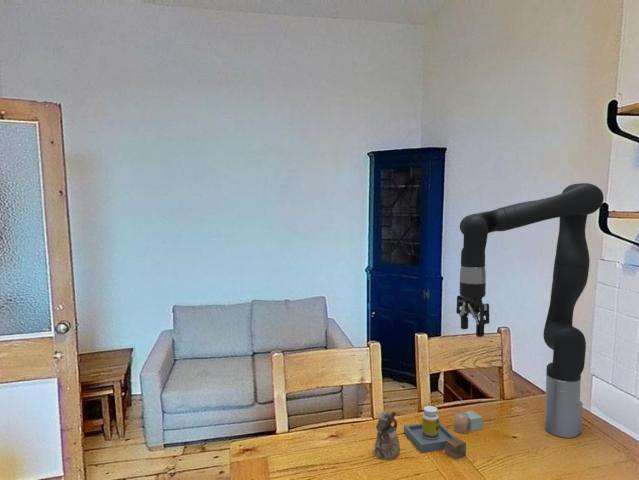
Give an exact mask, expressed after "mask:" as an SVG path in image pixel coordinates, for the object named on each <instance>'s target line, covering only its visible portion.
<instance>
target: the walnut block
mask: <svg viewBox="0 0 639 480" xmlns="http://www.w3.org/2000/svg"><path fill="white" fill-rule="evenodd" d="M444 454H445V455H446V456H449V457H450V458H451V459H453V460H454V461H457V460H459V459H462V458H465V457H466V456H467V455H466V454H467V442H466V441H464V440H463V439H461V438H459V437H457V436H455V435H454V437H452V438H449V439H446V440H445V449H444Z"/></svg>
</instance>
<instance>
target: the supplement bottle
mask: <svg viewBox="0 0 639 480" xmlns="http://www.w3.org/2000/svg"><path fill="white" fill-rule="evenodd" d="M438 411H439V409H438V408H437V407H436V406H433V405H427V406H426V405H425V406H424V407H423V414H422V435H423V437H424V438H426V439H437V438H438V436H439V422H440V420H439V419H440V418H439V415H438Z"/></svg>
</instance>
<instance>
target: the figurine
mask: <svg viewBox="0 0 639 480" xmlns="http://www.w3.org/2000/svg"><path fill="white" fill-rule="evenodd" d="M396 414H397V413H396V412H395V410H393V411H392V412H391V413H389V412H388V411H383V412H382V413H380V414H379V417H378V421H377V423H376V425H375V429H376V431H377V433H376V439H375V443H374V449H373V451H374V452H373V453H374V456H376V457H377V458H379V459H382V460H385V461H389V460H390V461H391V460H394V459H396V458H398V456H400V449H401V448H400V441H399V435H398V433H397V429H398V421H397V420H396V418H395V416H396ZM392 423H394V424H393V425H392Z"/></svg>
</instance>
